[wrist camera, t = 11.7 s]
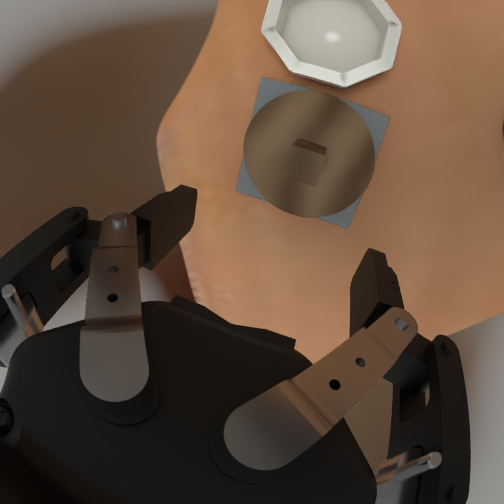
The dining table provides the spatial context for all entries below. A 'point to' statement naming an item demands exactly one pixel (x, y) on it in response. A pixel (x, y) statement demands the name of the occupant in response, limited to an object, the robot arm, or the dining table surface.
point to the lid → (309, 153)
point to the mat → (371, 118)
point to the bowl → (333, 38)
